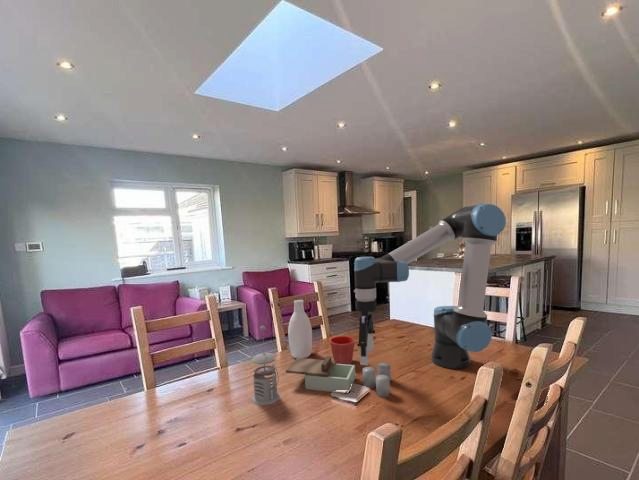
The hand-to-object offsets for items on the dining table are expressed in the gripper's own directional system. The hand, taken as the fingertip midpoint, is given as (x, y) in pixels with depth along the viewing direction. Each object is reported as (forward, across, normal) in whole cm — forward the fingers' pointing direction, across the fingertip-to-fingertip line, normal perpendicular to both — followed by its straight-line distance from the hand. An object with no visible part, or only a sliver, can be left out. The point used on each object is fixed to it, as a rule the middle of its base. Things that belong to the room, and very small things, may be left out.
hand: (367, 357), depth 115 cm
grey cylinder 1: (+10, 0, 0) cm, 10 cm away
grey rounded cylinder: (+10, +5, +6) cm, 13 cm away
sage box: (+10, +2, -14) cm, 17 cm away
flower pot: (+10, -18, -14) cm, 25 cm away
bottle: (+11, -22, -34) cm, 42 cm away
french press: (+11, +17, -32) cm, 38 cm away
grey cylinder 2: (+10, -5, +6) cm, 12 cm away
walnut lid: (+5, +2, -21) cm, 22 cm away
